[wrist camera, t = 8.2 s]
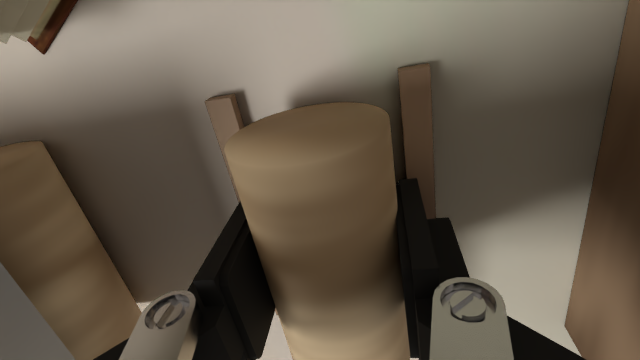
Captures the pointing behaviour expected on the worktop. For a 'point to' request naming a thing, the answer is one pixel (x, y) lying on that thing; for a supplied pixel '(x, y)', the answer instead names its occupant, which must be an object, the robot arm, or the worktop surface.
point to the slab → (25, 327)
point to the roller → (326, 227)
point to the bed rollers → (87, 251)
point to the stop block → (613, 222)
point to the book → (33, 20)
